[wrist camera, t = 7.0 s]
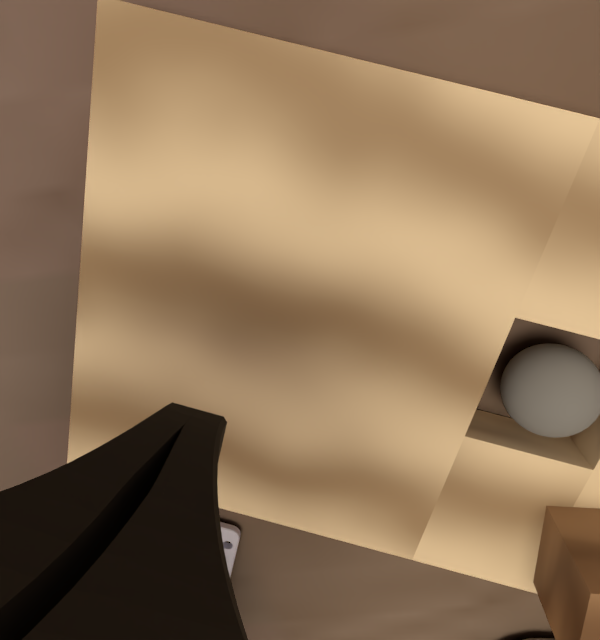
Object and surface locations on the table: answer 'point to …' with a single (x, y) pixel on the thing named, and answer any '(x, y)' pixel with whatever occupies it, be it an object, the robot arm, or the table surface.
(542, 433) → the ball
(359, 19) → the table surface
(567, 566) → the walnut cube
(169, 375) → the deck
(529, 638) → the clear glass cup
